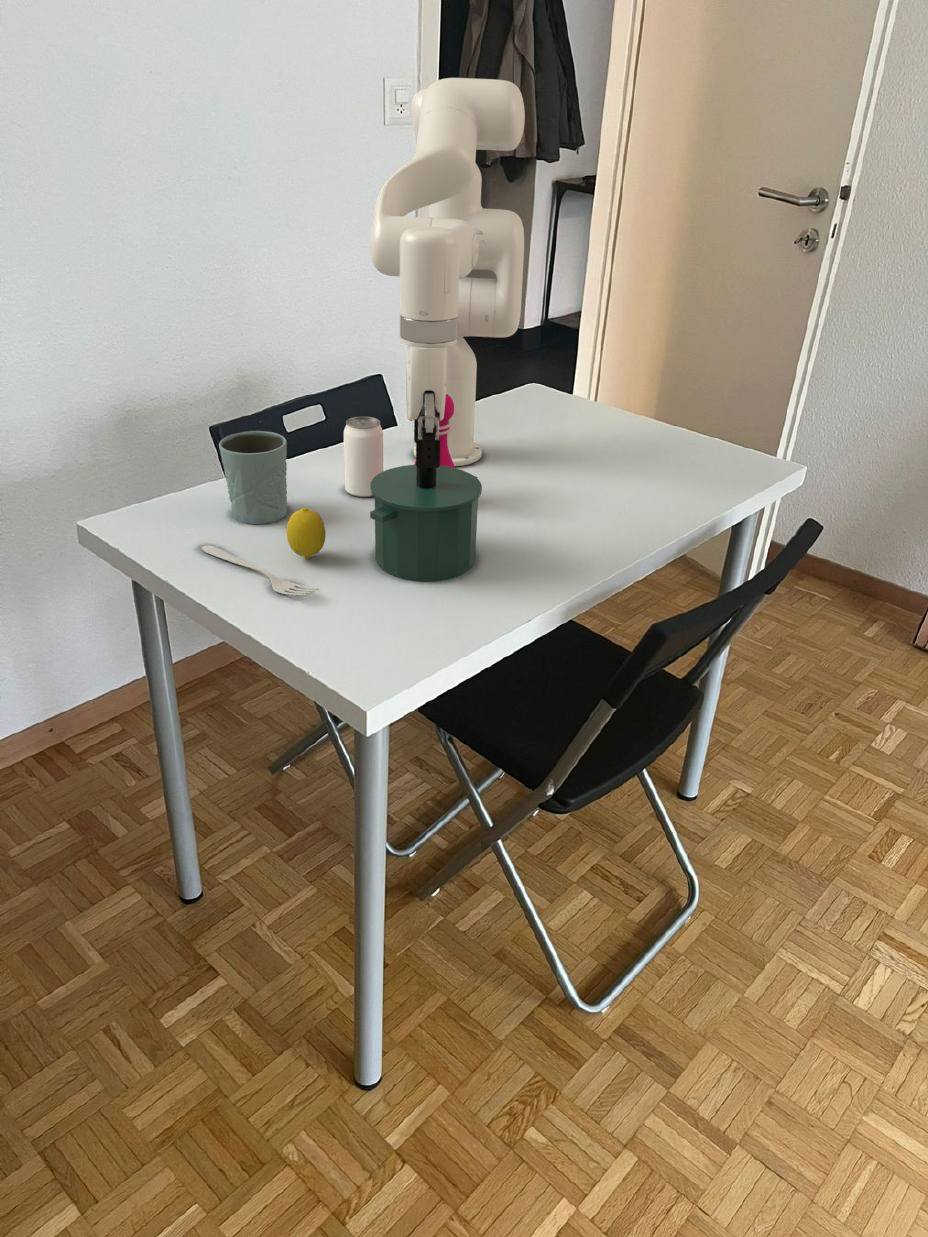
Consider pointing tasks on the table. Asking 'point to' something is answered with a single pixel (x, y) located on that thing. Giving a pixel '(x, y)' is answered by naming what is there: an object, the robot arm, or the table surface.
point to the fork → (277, 583)
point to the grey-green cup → (256, 475)
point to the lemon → (306, 532)
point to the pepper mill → (445, 433)
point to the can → (362, 454)
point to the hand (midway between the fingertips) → (426, 454)
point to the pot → (425, 541)
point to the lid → (426, 488)
